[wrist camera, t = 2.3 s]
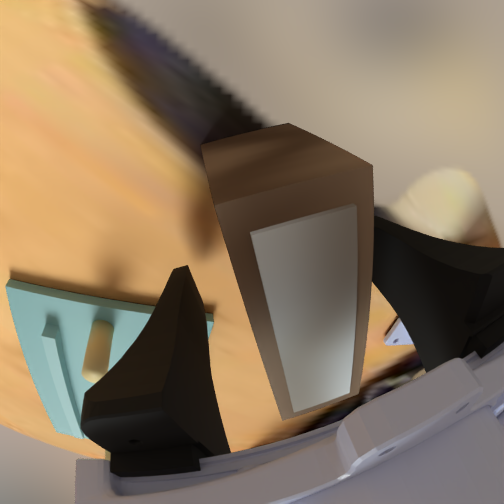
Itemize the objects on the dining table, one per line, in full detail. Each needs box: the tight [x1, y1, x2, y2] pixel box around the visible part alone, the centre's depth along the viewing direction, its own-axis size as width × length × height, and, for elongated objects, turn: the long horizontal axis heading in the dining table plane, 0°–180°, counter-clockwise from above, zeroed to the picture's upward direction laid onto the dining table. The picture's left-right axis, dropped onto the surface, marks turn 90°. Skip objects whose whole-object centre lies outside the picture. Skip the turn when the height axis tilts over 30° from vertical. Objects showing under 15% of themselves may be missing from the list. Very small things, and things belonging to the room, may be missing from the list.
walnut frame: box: [200, 123, 374, 421], centre depth 11 cm, size 4×10×6 cm, turn 12°
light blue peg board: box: [5, 279, 214, 461], centre depth 16 cm, size 11×17×4 cm, turn 162°
